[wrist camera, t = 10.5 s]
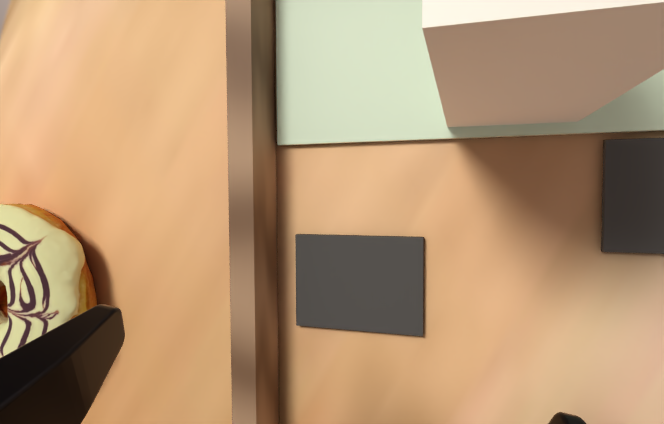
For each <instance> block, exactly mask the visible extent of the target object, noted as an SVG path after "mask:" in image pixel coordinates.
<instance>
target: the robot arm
mask: <svg viewBox="0 0 664 424" xmlns="http://www.w3.org/2000/svg"><path fill="white" fill-rule="evenodd" d="M124 338H125V332H124V325H123V319H122V313H121V310H120V309H119V308H117V307H114V306H109V305H105V304H99V305H96V306H94V307H92V308H91V309H89V310H87V311H85V312H83V313H82V314H80V315H78V316H76V317H74V318H72V319H71V320H69V321H67V322H65V323H63V324H61V325H60V326H58V327H56V328H54V329H52V330H50V331H49V332H47V333H45V334H43V335H41V336H40V337H38V338H36V339H34V340H32V341H30V342H29V343H27V344H25V345H23V346H21V347H19V348H18V349H16V350H14V351H12V352H10V353H8V354H7V355H5V356H3V357H1V358H0V424H81V423H82V421H83V419H84V418H85V416H86V414H87V413H88V411H89V409H90V407H91V405H92V403H93V402H94V400H95V398H96V396H97V394H98V392H99V390H100V388H101V386H102V384H103V382H104V380H105V378H106V376H107V374H108V372H109V370H110V368H111V366H112V364H113V362H114V361H115V359H116V357H117V355H118V353H119V351H120V349H121V347H122V345H123V342H124ZM548 424H586V423H585V422H584V421H583V420H582V419H581V418H580V417H578V416H575V415H571V414H567V413H563V412H559V413H556V414H555V415H554V416H553V418H552V419H551V421H550V422H549V423H548Z"/></svg>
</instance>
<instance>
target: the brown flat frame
mask: <svg viewBox="0 0 664 424" xmlns="http://www.w3.org/2000/svg"><path fill="white" fill-rule="evenodd" d="M226 58H227V121H228V183H229V246H230V308H231V370H232V424H279V373H278V283H277V194H276V105H275V16H274V0H226ZM601 251H602V252H623V253H657V254H664V138H643V139H614V140H604V144H603V190H602V237H601ZM423 301H424V237H405V236H361V235H318V234H296V325H298V326H309V327H321V328H332V329H344V330H355V331H367V332H379V333H390V334H402V335H413V336H423Z"/></svg>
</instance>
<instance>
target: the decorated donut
mask: <svg viewBox="0 0 664 424" xmlns="http://www.w3.org/2000/svg"><path fill="white" fill-rule="evenodd" d="M96 305H97V299H96V294H95V288H94V285H93V277H92V274H91V272H90V270H89V268H88V265H87V262H86V258H85V255H84V252H83V248H82V245H81V243H80V242H79V241H78V239H77V237H76V236H75V235H74V234H73V233H72V232H71V231H70V230H69V229H68V227H67V226H66V225H65V224H64V223H63V222H62V221H61V220H60V219H59V218H57V217H56V216H54V215H52V214H50V213H49V212H47V211H46V210H44V209H42V208H39V207H37V206H34V205H32V204H29V205H23V204H0V358H1V357H3V356H5V355H7V354H8V353H10V352H12V351H14V350H16V349H18V348H19V347H21V346H23V345H25V344H27V343H29V342H30V341H32V340H34V339H36V338H38V337H40V336H41V335H43V334H45V333H47V332H49V331H50V330H52V329H54V328H56V327H58V326H60V325H61V324H63V323H65V322H67V321H69V320H71V319H72V318H74V317H76V316H78V315H80V314H82V313H83V312H85V311H87V310H89V309H91V308H92V307H94V306H96Z"/></svg>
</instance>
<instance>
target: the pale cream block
mask: <svg viewBox="0 0 664 424" xmlns="http://www.w3.org/2000/svg"><path fill="white" fill-rule="evenodd" d="M422 29H423V33H424V37H425V41H426V45H427V49H428V53H429V57H430V61H431V65H432V69H433V73H434V77H435V81H436V84H437V88H438V92H439V96H440V100H441V104H442V108H443V112H444V116H445V120H446V124H447V127H470V126H493V125H516V124H539V123H562V122H578V121H580V120H582V119H583V118H585V117H586V116H588V115H590V114H591V113H593V112H595V111H596V110H598V109H600V108H601V107H603V106H604V105H606V104H608V103H609V102H611V101H613V100H614V99H616V98H618V97H619V96H621V95H622V94H624V93H626V92H627V91H629V90H631V89H632V88H634V87H635V86H637V85H639V84H640V83H642V82H644V81H645V80H647V79H649V78H650V77H652V76H653V75H655V74H657V73H658V72H660V71H662V70H663V69H664V0H422Z"/></svg>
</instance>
